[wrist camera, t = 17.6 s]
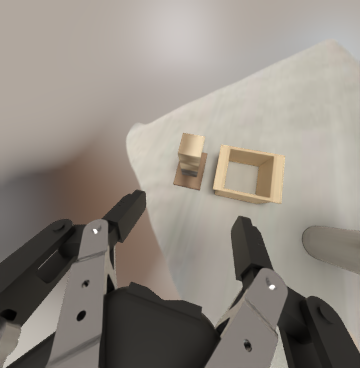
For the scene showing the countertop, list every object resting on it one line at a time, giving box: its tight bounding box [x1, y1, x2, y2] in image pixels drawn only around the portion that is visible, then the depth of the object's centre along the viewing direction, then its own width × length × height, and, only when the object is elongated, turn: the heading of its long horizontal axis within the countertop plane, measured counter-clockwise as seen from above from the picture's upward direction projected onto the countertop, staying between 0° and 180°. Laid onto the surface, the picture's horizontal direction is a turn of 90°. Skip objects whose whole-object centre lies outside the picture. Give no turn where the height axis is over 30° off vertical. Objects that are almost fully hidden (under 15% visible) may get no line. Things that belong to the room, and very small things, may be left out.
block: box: [178, 133, 205, 177], centre depth 35 cm, size 5×5×16 cm
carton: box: [213, 145, 285, 204], centre depth 39 cm, size 18×14×8 cm
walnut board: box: [173, 153, 207, 190], centre depth 44 cm, size 9×13×2 cm
